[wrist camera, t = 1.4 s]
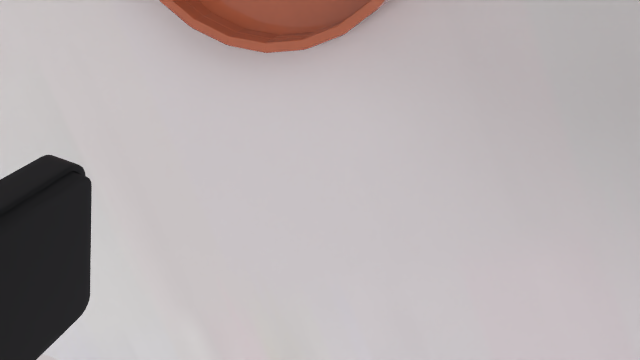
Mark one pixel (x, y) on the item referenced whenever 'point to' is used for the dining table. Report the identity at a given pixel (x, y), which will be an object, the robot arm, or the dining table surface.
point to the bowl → (273, 21)
